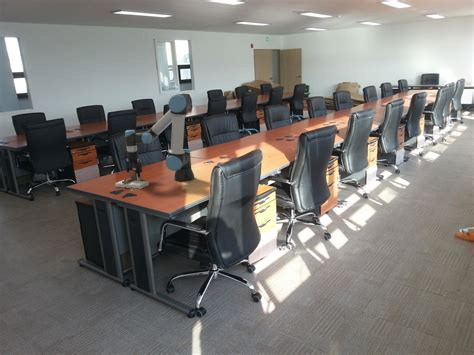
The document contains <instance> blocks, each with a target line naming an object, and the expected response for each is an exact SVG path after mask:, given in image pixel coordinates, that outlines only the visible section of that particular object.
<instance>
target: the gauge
mask: <svg viewBox="0 0 474 355" xmlns="http://www.w3.org/2000/svg"><path fill="white" fill-rule="evenodd" d="M128 174H129V175H130V176H129V178H126V177H123V180H124V181H122V180H121V181H122V184H126V183H128V182H130V181H132V180H133V181H137V176H136V174H137V171H136V168H133V167H132V169H131V170H129V172H128ZM140 181H142V179H140Z"/></svg>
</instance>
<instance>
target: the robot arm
mask: <svg viewBox="0 0 474 355" xmlns="http://www.w3.org/2000/svg"><path fill="white" fill-rule="evenodd" d="M192 105H193V99H192V96H191V95H189V93H177V94H174V95H172V96H171V97H169V99H168V107H169V110H168V111H166V113H165V114H164V115H163V116H162V117H160V118H159V120H157V122H155V124H153V126H152V127H150V129H149V130H147V131H144V132H136V130H135V129H126V130H125V131H124V139H125V143H126V147H127V151H126V156H127V158H125V159H124V161H125V168H126V170H125V171H126V173H129V170H131V169H133V164H134V165H135V168H136V171H137V174H136V176H137V181H140V180H141V173H143V167H142V166H143V165H142V162H143V161H142V158H141V159H140V158H139V157H138V156H139V153H138V149H137V143H141V144H151V143H152V141H154V140H156V139H157V138H158V137H159V135H160V134H161V133H163V131H164V130H166V129H167V128H168V127H169V125H171V137H170V149H169V150H168V152H167V157H166V159H165V166H166V168H167V169H168V170H169V171H172V172H175V173H174V181H175V182H189V181H192V180H194V179H195V174H194V171H193V169H192V162H191V161H192V160H191V157H192V156H191V150H190V149H189V148H184V134H185V119H186V116H187V115H188V110H190V108H191V107H192ZM135 163H136V164H135ZM129 177H130V175H129Z"/></svg>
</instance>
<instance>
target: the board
mask: <svg viewBox="0 0 474 355" xmlns="http://www.w3.org/2000/svg"><path fill="white" fill-rule="evenodd" d="M122 181H124V179H123V180H120V181H117V182H115V183H114V184H115V187H116V188H125V187H126V188H127V189H137V188H138V189H137V190H139V189H140V190H142V189H143V188H146V187H148V186H149V181H145V180H143V181H142V180H141V181H133V180H132V181H130V182H128V183H126V184H122ZM131 187H132V188H131Z"/></svg>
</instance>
